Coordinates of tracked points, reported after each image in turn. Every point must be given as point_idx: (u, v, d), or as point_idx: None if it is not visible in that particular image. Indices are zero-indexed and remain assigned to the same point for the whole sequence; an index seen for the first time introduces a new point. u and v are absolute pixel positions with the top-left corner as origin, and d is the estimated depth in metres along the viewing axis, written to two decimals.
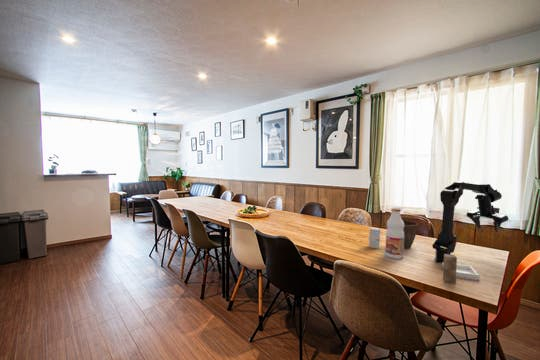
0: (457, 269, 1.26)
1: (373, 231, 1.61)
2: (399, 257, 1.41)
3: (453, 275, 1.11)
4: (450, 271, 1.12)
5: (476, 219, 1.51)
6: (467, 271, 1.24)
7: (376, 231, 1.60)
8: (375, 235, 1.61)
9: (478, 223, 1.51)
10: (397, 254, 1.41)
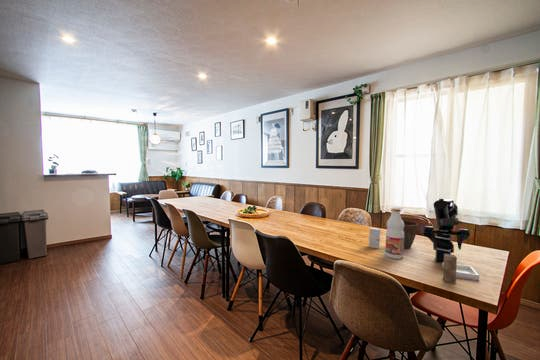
0: (457, 269, 1.26)
1: (373, 231, 1.61)
2: (399, 257, 1.41)
3: (453, 275, 1.11)
4: (450, 271, 1.12)
5: (457, 239, 1.21)
6: (467, 271, 1.24)
7: (376, 231, 1.60)
8: (375, 235, 1.61)
9: (458, 244, 1.19)
10: (397, 254, 1.41)
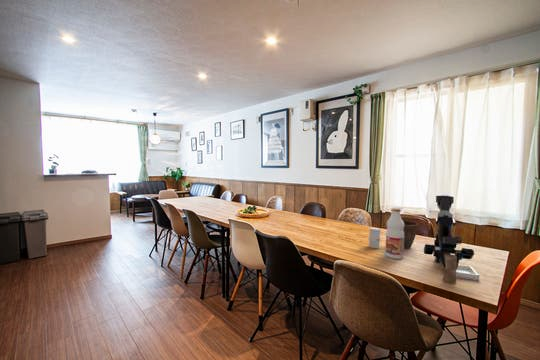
0: (457, 269, 1.26)
1: (373, 231, 1.61)
2: (399, 257, 1.41)
3: (453, 275, 1.11)
4: (450, 271, 1.12)
5: None
6: (467, 271, 1.24)
7: (376, 231, 1.60)
8: (375, 235, 1.61)
9: None
10: (397, 254, 1.41)
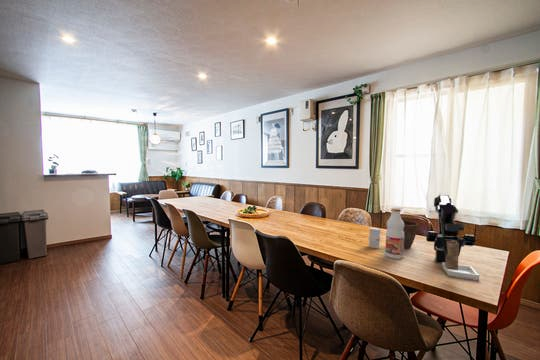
0: None
1: (373, 231, 1.61)
2: (399, 257, 1.41)
3: (455, 261, 1.13)
4: (452, 258, 1.13)
5: None
6: (467, 271, 1.24)
7: (376, 231, 1.60)
8: (375, 235, 1.61)
9: None
10: (397, 254, 1.41)
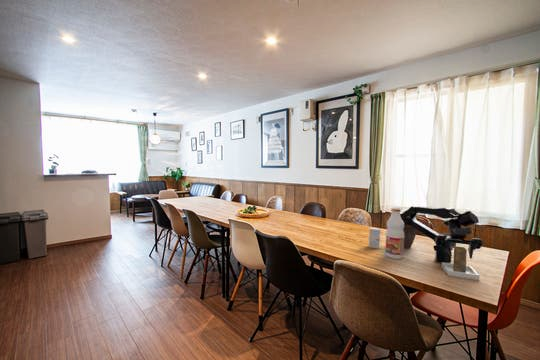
0: None
1: (373, 231, 1.61)
2: (399, 257, 1.41)
3: (463, 266, 1.21)
4: (460, 262, 1.21)
5: (469, 248, 1.24)
6: (467, 271, 1.24)
7: (376, 231, 1.60)
8: (375, 235, 1.61)
9: (469, 253, 1.22)
10: (397, 254, 1.41)
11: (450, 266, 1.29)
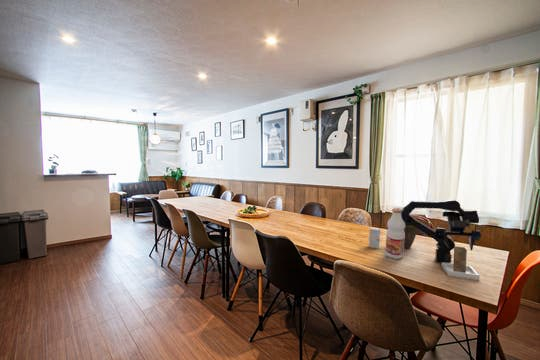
0: None
1: (373, 231, 1.61)
2: (399, 257, 1.41)
3: (463, 266, 1.21)
4: (460, 262, 1.21)
5: (469, 240, 1.26)
6: (467, 271, 1.24)
7: (376, 231, 1.60)
8: (375, 235, 1.61)
9: (470, 244, 1.24)
10: (397, 254, 1.41)
11: (450, 266, 1.29)
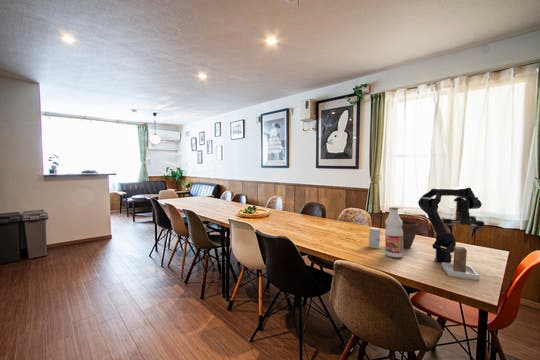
0: None
1: (373, 231, 1.61)
2: (399, 255, 1.42)
3: (463, 266, 1.21)
4: (460, 262, 1.21)
5: (472, 227, 1.40)
6: (467, 271, 1.24)
7: (376, 231, 1.60)
8: (375, 235, 1.61)
9: (471, 232, 1.39)
10: (397, 252, 1.42)
11: (450, 266, 1.29)
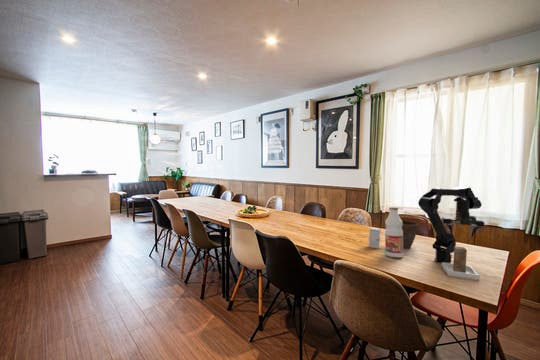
0: None
1: (373, 231, 1.61)
2: (399, 255, 1.42)
3: (463, 266, 1.21)
4: (460, 262, 1.21)
5: (472, 227, 1.40)
6: (467, 271, 1.24)
7: (376, 231, 1.60)
8: (375, 235, 1.61)
9: (471, 232, 1.39)
10: (397, 252, 1.42)
11: (450, 266, 1.29)
